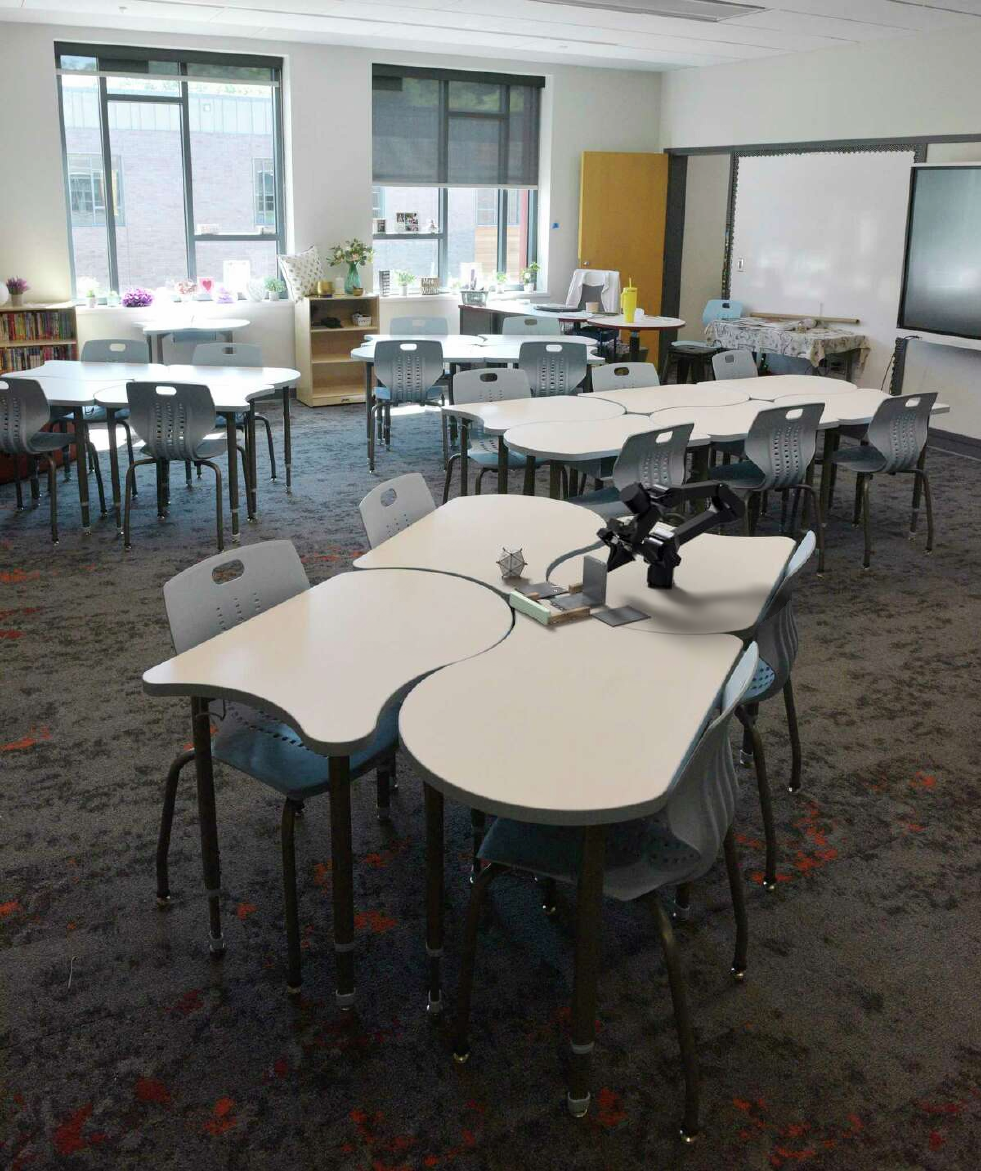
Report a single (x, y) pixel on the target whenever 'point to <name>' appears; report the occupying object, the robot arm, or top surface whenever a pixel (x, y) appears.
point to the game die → (511, 563)
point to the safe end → (529, 607)
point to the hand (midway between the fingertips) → (606, 571)
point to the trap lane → (608, 616)
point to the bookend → (587, 587)
